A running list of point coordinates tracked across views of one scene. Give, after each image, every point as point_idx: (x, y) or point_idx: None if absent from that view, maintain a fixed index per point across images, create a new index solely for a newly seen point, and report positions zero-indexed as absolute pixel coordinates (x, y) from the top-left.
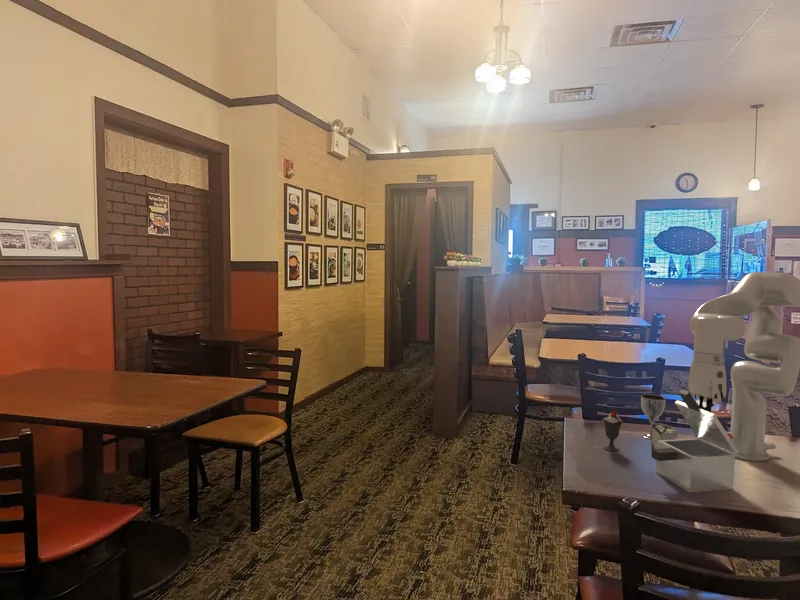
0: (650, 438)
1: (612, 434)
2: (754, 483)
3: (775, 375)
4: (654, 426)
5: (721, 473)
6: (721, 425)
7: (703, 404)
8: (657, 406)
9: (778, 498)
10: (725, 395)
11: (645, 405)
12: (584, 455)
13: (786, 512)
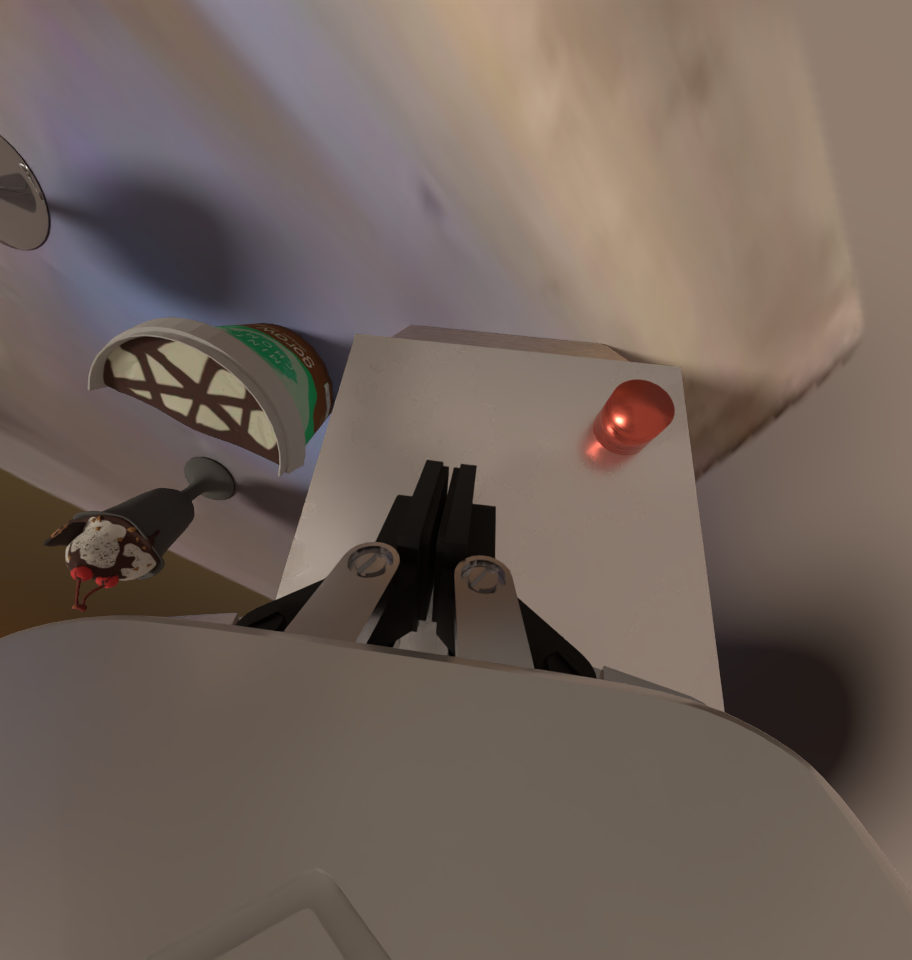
0: (34, 225)
1: (187, 526)
2: (613, 167)
3: None
4: (133, 394)
5: None
6: (710, 612)
7: (451, 650)
8: None
9: (764, 217)
10: (873, 862)
11: None
12: (270, 571)
13: (835, 324)
